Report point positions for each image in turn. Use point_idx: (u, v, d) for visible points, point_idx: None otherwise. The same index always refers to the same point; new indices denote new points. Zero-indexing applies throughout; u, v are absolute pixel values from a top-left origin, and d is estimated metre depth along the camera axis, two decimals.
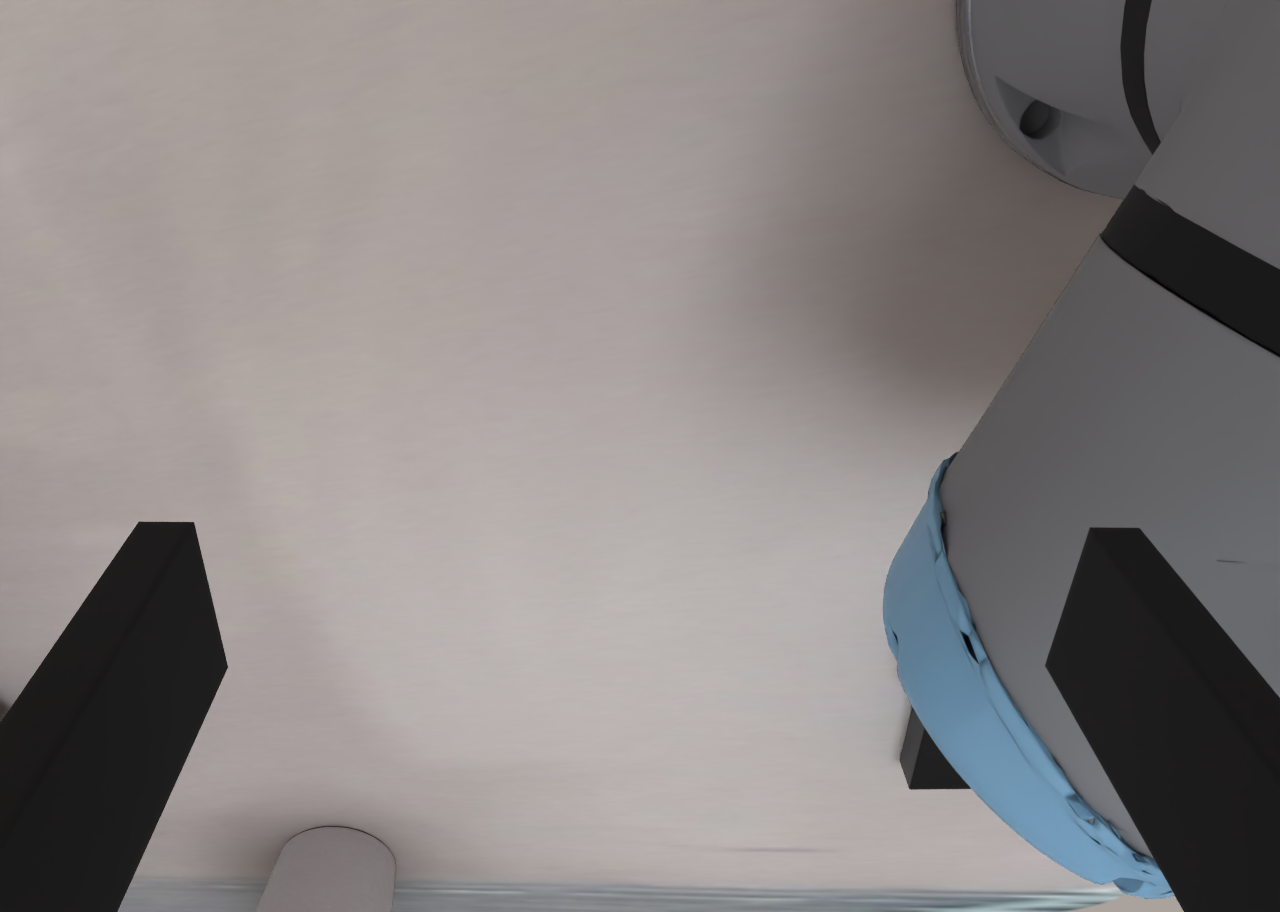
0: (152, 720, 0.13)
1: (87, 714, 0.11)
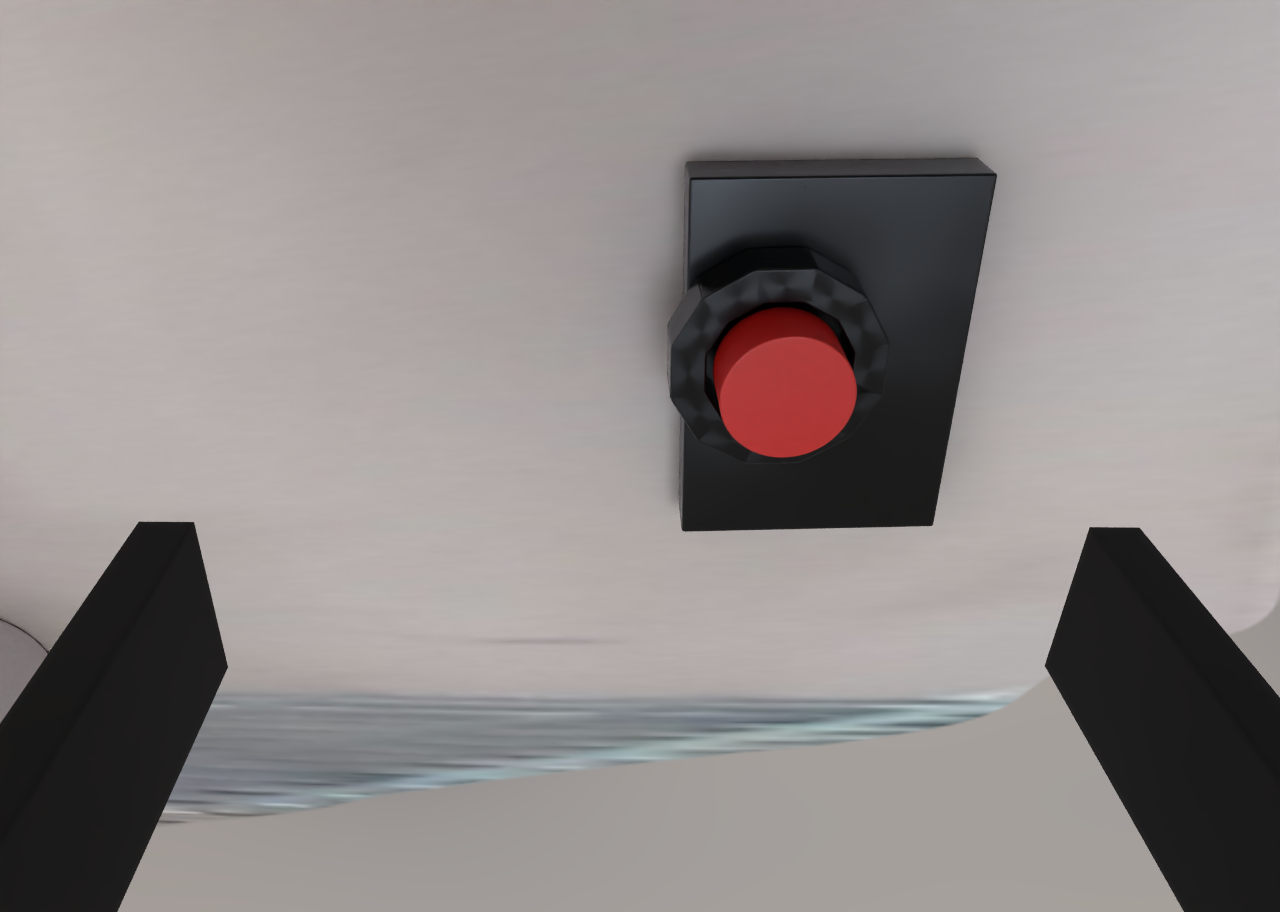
0: (152, 720, 0.13)
1: (87, 714, 0.11)
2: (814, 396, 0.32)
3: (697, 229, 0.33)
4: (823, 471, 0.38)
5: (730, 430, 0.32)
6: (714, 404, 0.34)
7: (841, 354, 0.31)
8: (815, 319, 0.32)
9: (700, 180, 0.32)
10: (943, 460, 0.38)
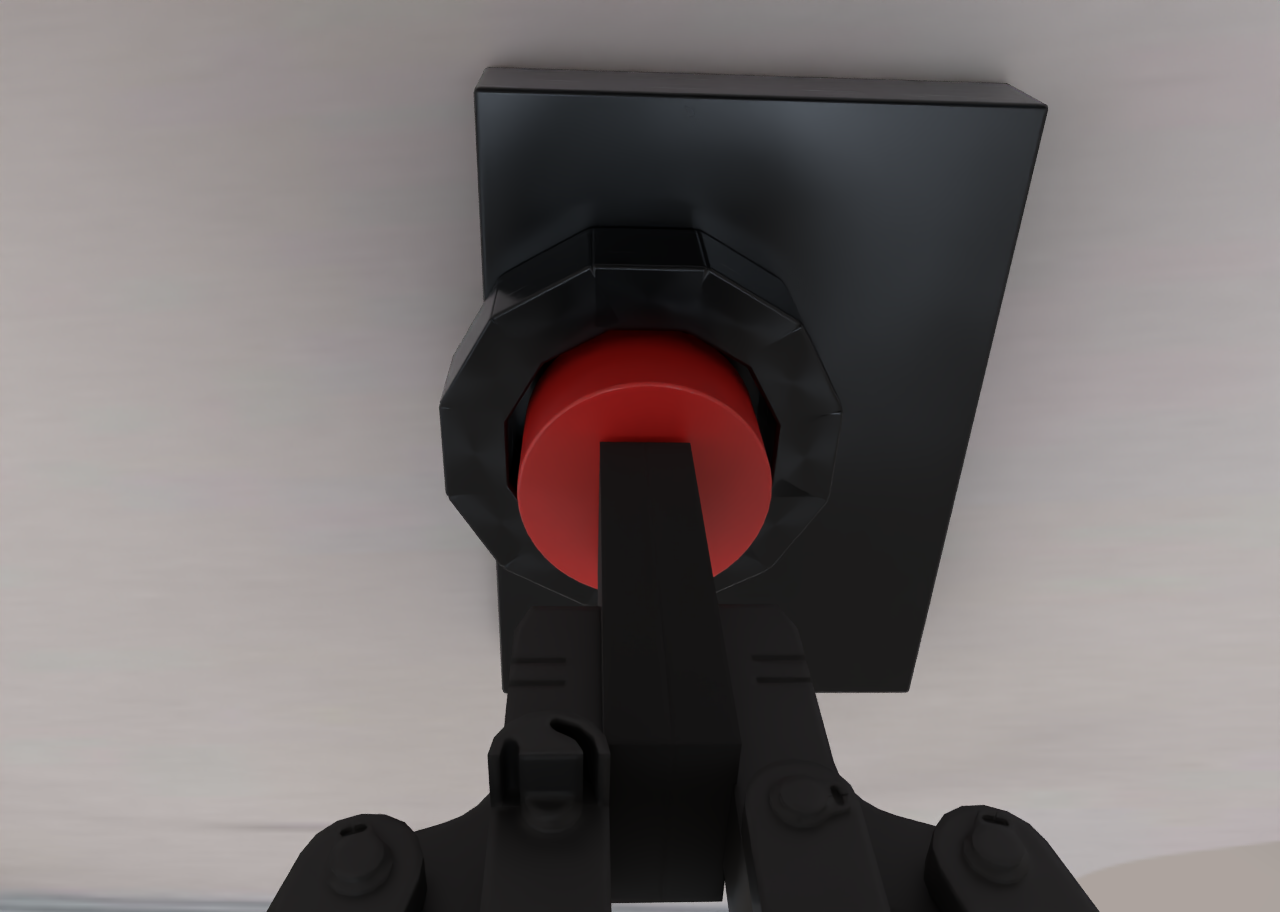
0: None
1: None
2: None
3: (495, 188, 0.18)
4: None
5: (541, 548, 0.18)
6: None
7: (742, 418, 0.16)
8: (702, 350, 0.18)
9: (494, 92, 0.17)
10: (929, 595, 0.23)
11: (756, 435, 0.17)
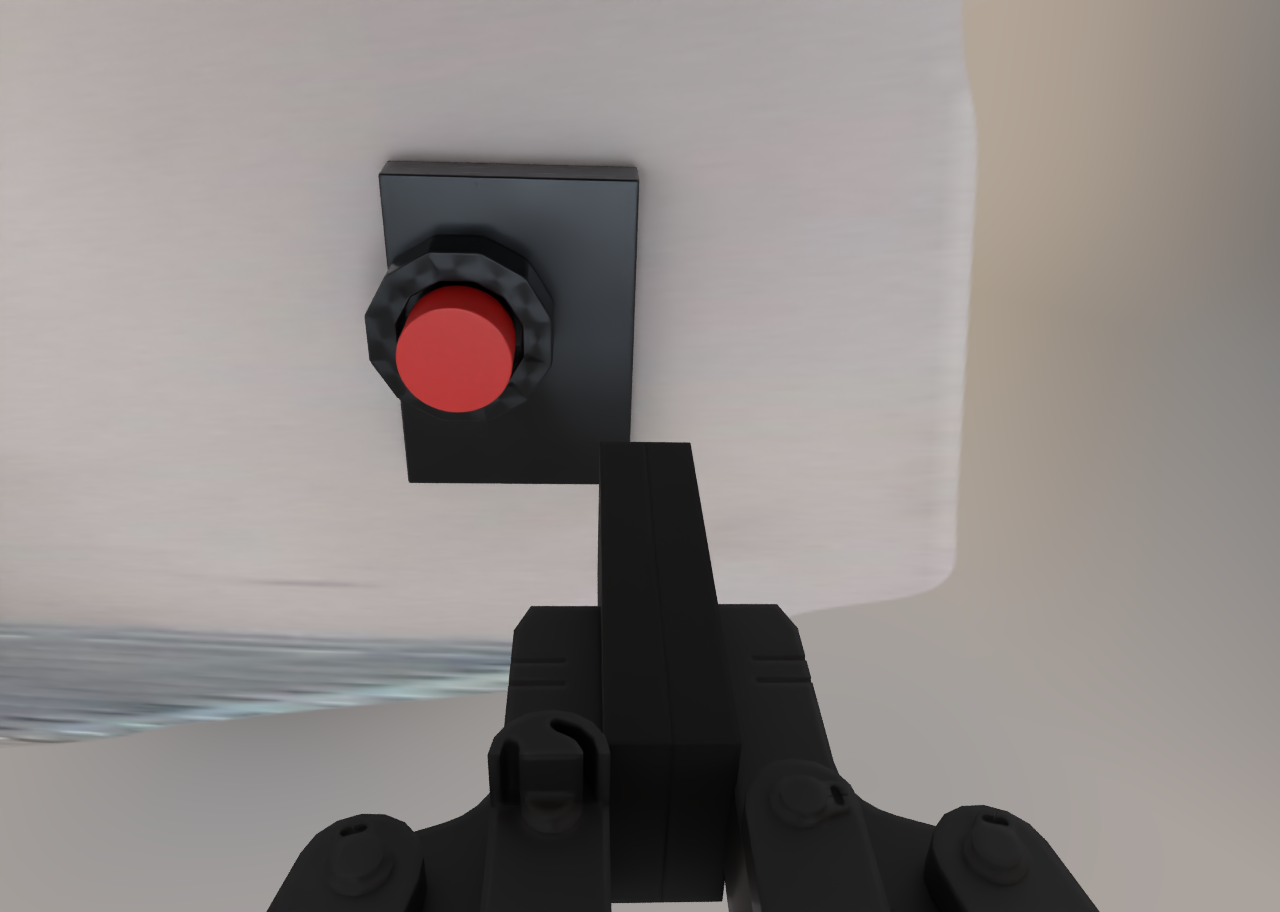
0: None
1: None
2: (475, 360, 0.38)
3: (390, 217, 0.39)
4: (525, 433, 0.44)
5: (408, 387, 0.38)
6: None
7: (494, 324, 0.37)
8: (483, 296, 0.38)
9: (387, 176, 0.38)
10: (628, 426, 0.44)
11: (501, 332, 0.37)
